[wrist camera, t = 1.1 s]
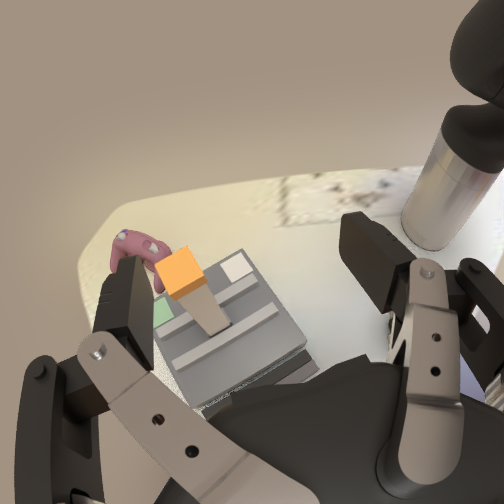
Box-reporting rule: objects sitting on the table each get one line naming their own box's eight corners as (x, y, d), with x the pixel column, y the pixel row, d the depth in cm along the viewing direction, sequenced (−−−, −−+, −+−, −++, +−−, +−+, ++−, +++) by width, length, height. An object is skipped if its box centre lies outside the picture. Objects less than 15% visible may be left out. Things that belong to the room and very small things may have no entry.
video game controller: (179, 277, 42) (175, 236, 38) (161, 297, 38) (155, 256, 34) (127, 257, 44) (120, 219, 40) (109, 274, 41) (99, 235, 36)
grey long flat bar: (304, 351, 34) (305, 349, 33) (317, 370, 33) (319, 368, 31) (204, 410, 31) (201, 411, 30) (216, 431, 30) (213, 432, 29)
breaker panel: (244, 259, 40) (240, 242, 37) (304, 344, 34) (308, 336, 30) (149, 314, 38) (135, 303, 34) (198, 408, 31) (187, 408, 27)
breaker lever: (222, 307, 34) (188, 244, 21) (234, 327, 33) (205, 274, 20) (200, 320, 33) (152, 265, 21) (211, 341, 32) (167, 296, 20)
